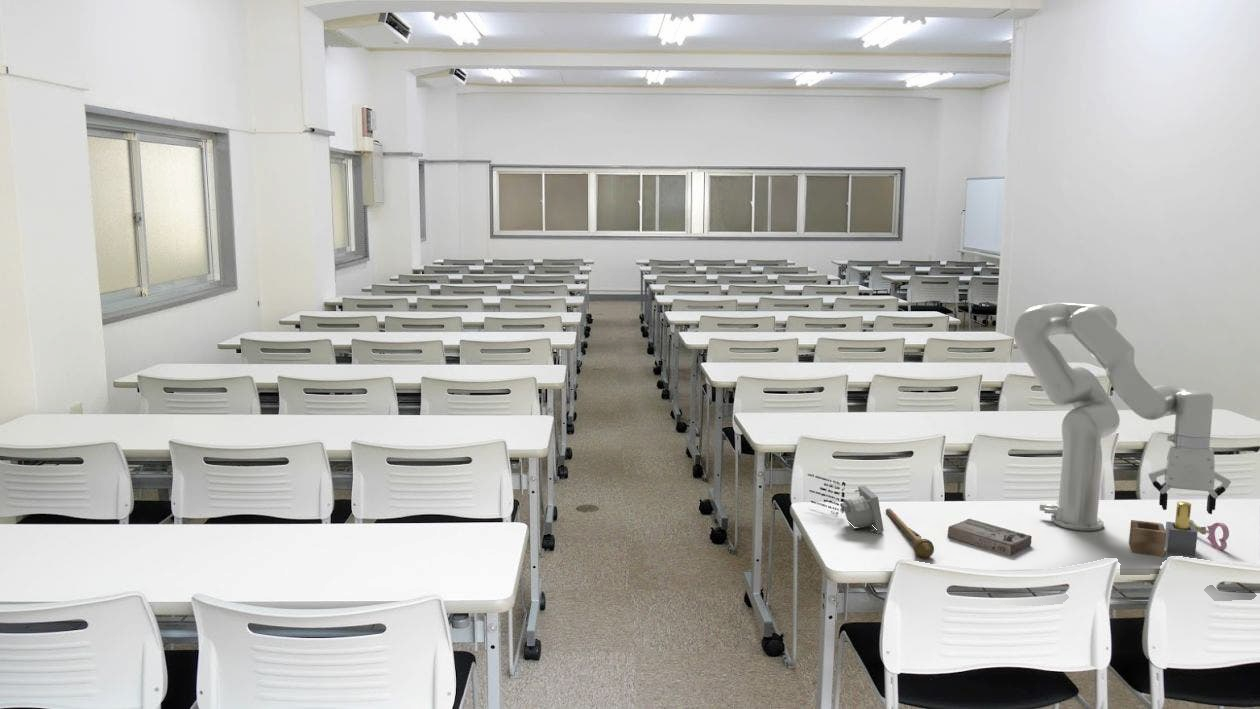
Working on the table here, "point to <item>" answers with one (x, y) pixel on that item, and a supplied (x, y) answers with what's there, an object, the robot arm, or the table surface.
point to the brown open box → (1147, 538)
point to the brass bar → (1182, 515)
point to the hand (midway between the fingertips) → (1186, 510)
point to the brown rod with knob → (914, 538)
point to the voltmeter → (857, 507)
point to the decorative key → (1212, 534)
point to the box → (989, 536)
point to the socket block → (1180, 540)
